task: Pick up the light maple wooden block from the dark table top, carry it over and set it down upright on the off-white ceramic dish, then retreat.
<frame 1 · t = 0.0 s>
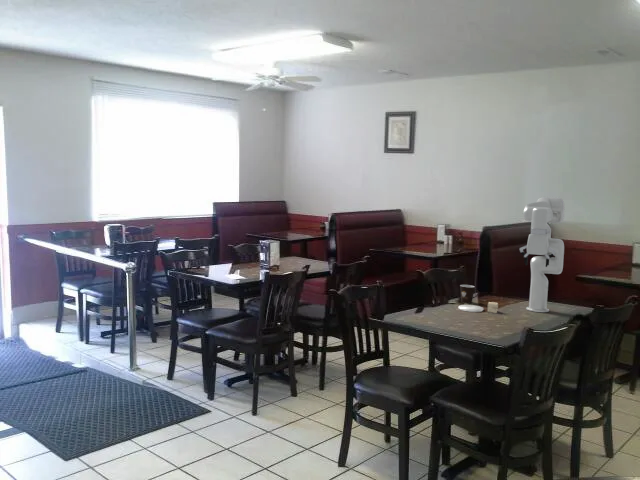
hand: (536, 265, 295), 31 cm above the table, tool pointing down, fingers open, 9 cm apart
coffee mug: (467, 302, 355), on the table
maple block: (492, 311, 331), on the table
ceramic dish: (470, 309, 334), on the table
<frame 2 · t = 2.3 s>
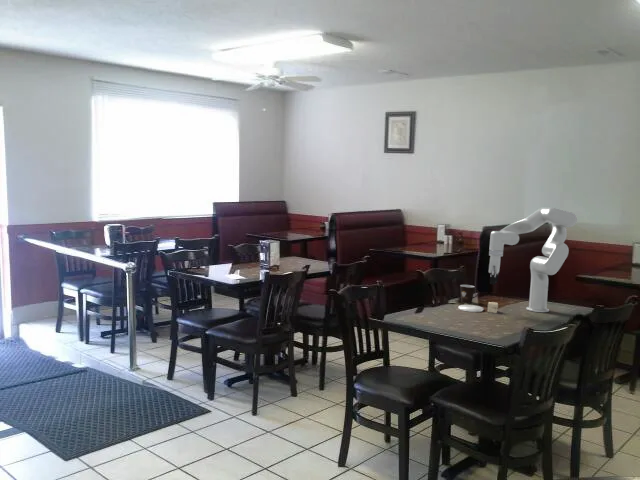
hand: (493, 283, 329), 16 cm above the table, tool pointing down, fingers open, 9 cm apart
nothing on the table moved.
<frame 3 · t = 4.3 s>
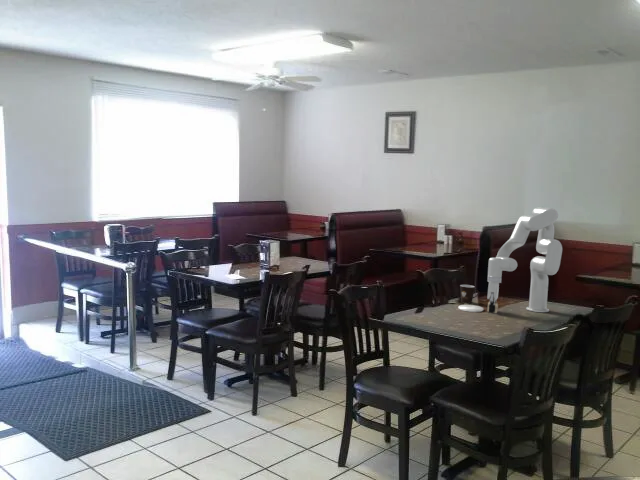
hand: (492, 310, 330), 0 cm above the table, tool pointing down, fingers closed on maple block, 5 cm apart
maple block: (492, 311, 331), on the table, touching gripper
everything else where it was.
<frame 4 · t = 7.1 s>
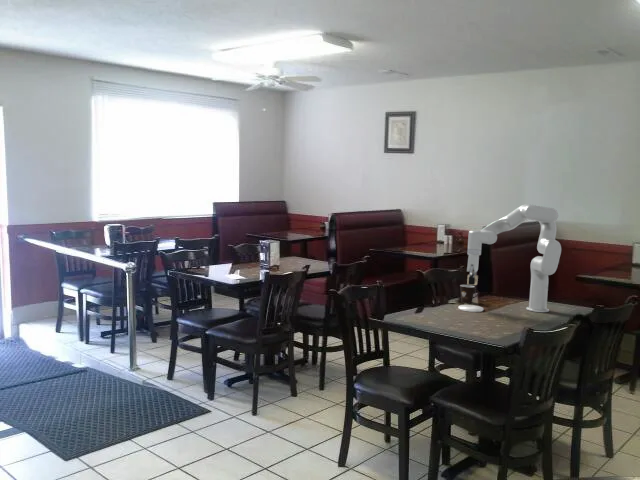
hand: (472, 283, 333), 15 cm above the table, tool pointing down, fingers closed on maple block, 4 cm apart
maple block: (472, 284, 333), point 15 cm above the table, touching gripper
everything else where it was.
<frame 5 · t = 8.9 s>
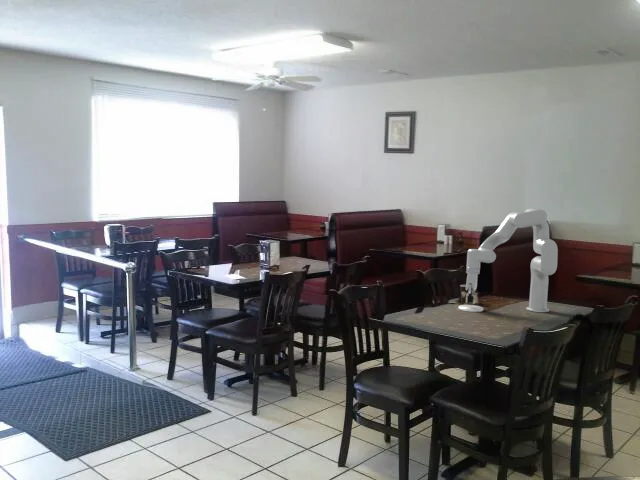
hand: (470, 301, 334), 5 cm above the table, tool pointing down, fingers closed on maple block, 4 cm apart
maple block: (470, 302, 334), point 4 cm above the table, touching gripper
everything else where it was.
when the fingers open (3 cm above the table, at t = 10.0 s): maple block drops 1 cm, resting on ceramic dish.
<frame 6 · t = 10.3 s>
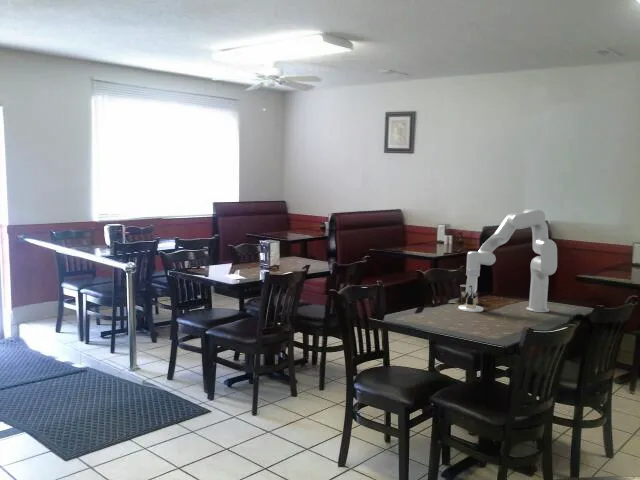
hand: (471, 303, 334), 4 cm above the table, tool pointing down, fingers open, 7 cm apart
maple block: (470, 307, 334), point 1 cm above the table, touching ceramic dish
everything else where it was.
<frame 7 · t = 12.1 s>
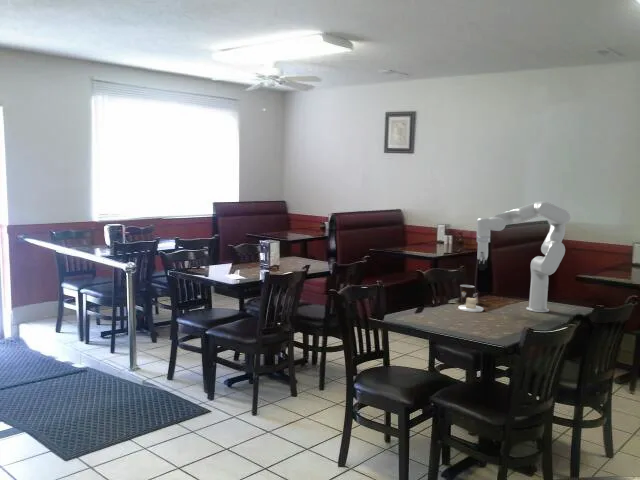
hand: (483, 269, 334), 23 cm above the table, tool pointing down, fingers open, 9 cm apart
nothing on the table moved.
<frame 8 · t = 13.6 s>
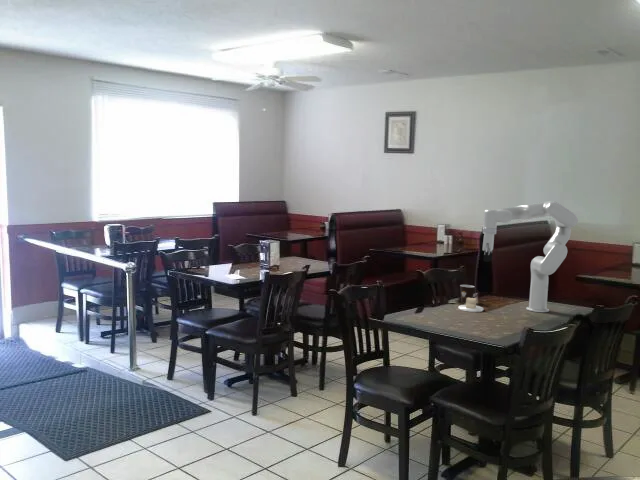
hand: (487, 260, 334), 28 cm above the table, tool pointing down, fingers open, 9 cm apart
nothing on the table moved.
at the end: maple block inside the target area on the ceramic dish (0.0 cm from its centre), point 1.2 cm above the ceramic dish's base; maple block tilted 0°; the gripper is holding nothing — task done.
